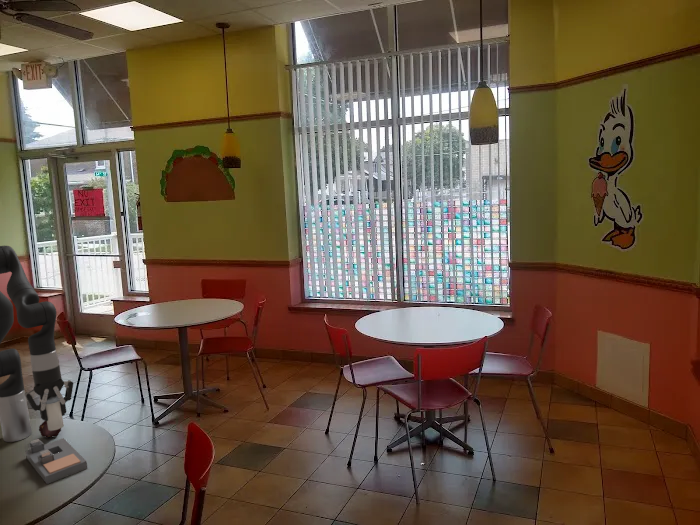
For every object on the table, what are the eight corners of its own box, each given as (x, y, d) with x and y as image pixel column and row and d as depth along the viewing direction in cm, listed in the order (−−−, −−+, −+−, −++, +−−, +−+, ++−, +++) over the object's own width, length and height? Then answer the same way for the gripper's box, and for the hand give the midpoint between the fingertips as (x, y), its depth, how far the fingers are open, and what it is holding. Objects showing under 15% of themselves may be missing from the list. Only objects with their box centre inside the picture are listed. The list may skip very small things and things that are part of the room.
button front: (41, 460, 179) (39, 452, 179) (49, 457, 181) (47, 449, 180) (43, 463, 177) (41, 454, 177) (51, 460, 179) (49, 451, 179)
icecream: (58, 425, 197) (66, 413, 211) (35, 425, 195) (45, 412, 209) (55, 445, 197) (64, 431, 211) (32, 444, 195) (42, 430, 209)
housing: (26, 458, 188) (24, 445, 187) (64, 444, 196) (62, 432, 195) (46, 484, 169) (44, 470, 169) (87, 468, 177) (85, 455, 177)
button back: (32, 449, 188) (30, 441, 188) (39, 446, 190) (38, 438, 189) (33, 451, 186) (32, 443, 186) (41, 449, 188) (40, 440, 187)
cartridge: (45, 428, 174) (40, 398, 173) (60, 422, 178) (55, 393, 176) (51, 432, 171) (46, 401, 170) (66, 426, 175) (61, 396, 173)
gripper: (66, 357, 179) (74, 407, 181) (16, 370, 169) (26, 422, 172) (73, 361, 173) (81, 413, 176) (22, 375, 164) (32, 429, 167)
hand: (54, 417), depth 174 cm, fingers closed on cartridge, 4 cm apart
